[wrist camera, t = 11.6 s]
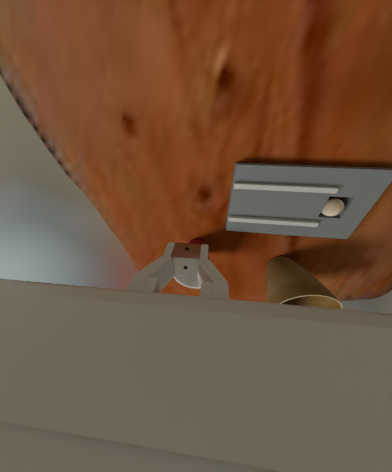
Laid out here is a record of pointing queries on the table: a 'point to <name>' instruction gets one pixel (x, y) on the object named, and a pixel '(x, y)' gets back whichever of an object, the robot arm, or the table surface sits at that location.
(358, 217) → the hole board
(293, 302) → the plant pot
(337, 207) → the ball
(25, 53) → the table surface
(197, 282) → the plastic cup
